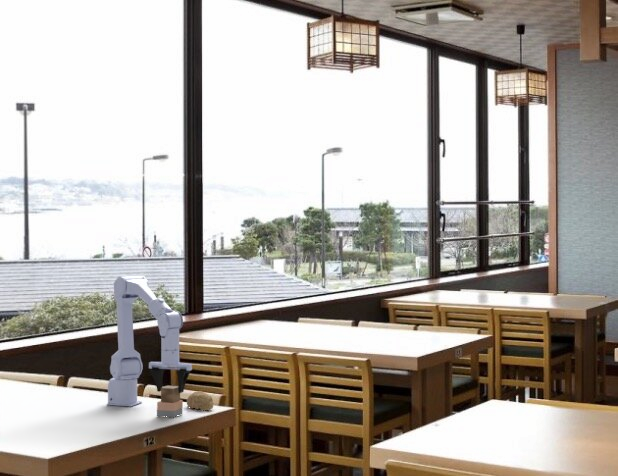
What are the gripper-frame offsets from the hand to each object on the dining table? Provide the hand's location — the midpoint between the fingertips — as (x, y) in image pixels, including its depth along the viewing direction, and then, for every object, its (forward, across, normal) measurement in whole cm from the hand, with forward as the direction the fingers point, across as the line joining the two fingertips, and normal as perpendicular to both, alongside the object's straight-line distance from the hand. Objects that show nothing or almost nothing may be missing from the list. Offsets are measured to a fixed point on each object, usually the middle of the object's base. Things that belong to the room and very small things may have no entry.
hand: (170, 391), depth 306 cm
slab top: (+6, 0, 0) cm, 6 cm away
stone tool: (+8, +4, +14) cm, 17 cm away
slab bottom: (+8, 0, 0) cm, 8 cm away
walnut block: (+3, 0, 0) cm, 3 cm away
